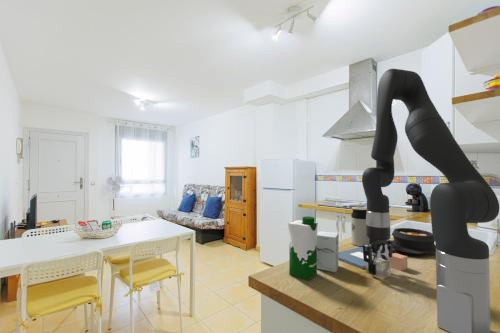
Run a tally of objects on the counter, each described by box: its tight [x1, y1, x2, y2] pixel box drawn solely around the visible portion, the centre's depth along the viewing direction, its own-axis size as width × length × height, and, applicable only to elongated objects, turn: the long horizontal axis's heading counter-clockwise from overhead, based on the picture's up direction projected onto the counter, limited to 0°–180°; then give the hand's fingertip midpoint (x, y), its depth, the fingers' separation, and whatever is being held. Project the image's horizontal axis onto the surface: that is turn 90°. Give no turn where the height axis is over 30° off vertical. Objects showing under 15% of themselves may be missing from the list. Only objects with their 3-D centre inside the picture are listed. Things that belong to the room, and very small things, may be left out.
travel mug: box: [350, 206, 369, 247], centre depth 118 cm, size 8×8×18 cm
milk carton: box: [287, 216, 319, 281], centre depth 84 cm, size 9×9×20 cm
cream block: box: [365, 257, 392, 280], centre depth 84 cm, size 5×6×5 cm
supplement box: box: [317, 230, 340, 273], centre depth 90 cm, size 7×7×13 cm
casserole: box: [391, 227, 436, 255], centre depth 110 cm, size 25×19×8 cm
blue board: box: [338, 246, 382, 270], centre depth 99 cm, size 20×15×1 cm
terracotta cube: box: [388, 252, 409, 272], centre depth 90 cm, size 4×4×4 cm
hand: (378, 271), depth 84 cm, fingers open, 6 cm apart
